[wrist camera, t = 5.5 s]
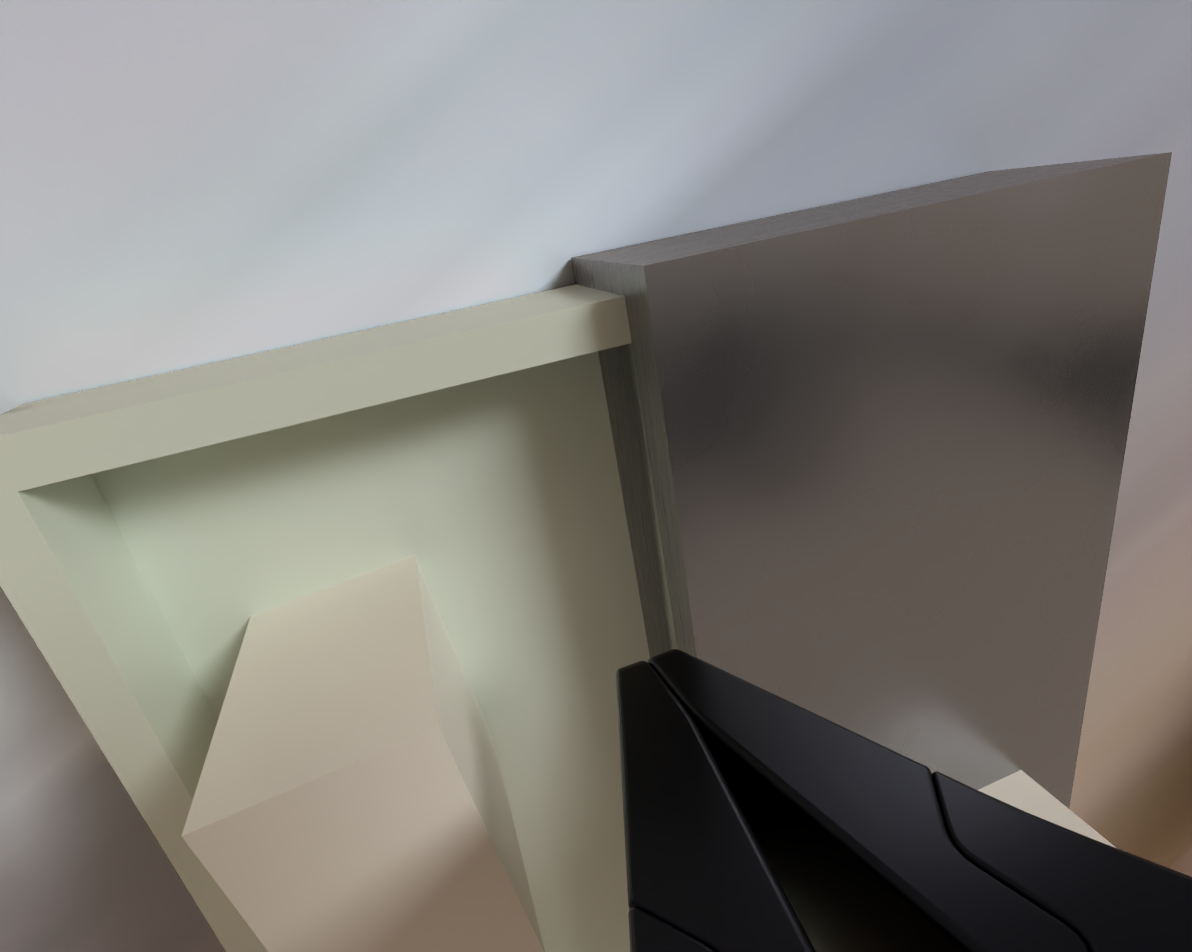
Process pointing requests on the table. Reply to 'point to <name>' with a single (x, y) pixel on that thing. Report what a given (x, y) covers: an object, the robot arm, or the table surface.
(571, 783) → the box
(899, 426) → the plate
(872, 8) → the table surface
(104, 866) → the table surface
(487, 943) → the tile
